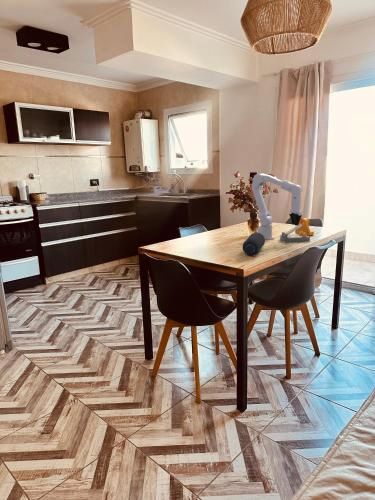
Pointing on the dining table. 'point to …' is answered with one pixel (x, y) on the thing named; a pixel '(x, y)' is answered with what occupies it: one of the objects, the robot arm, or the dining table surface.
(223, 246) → the dining table surface
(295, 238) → the base block
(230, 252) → the dining table surface
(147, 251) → the dining table surface
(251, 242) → the portable speaker
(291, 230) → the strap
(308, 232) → the orange animal figurine
